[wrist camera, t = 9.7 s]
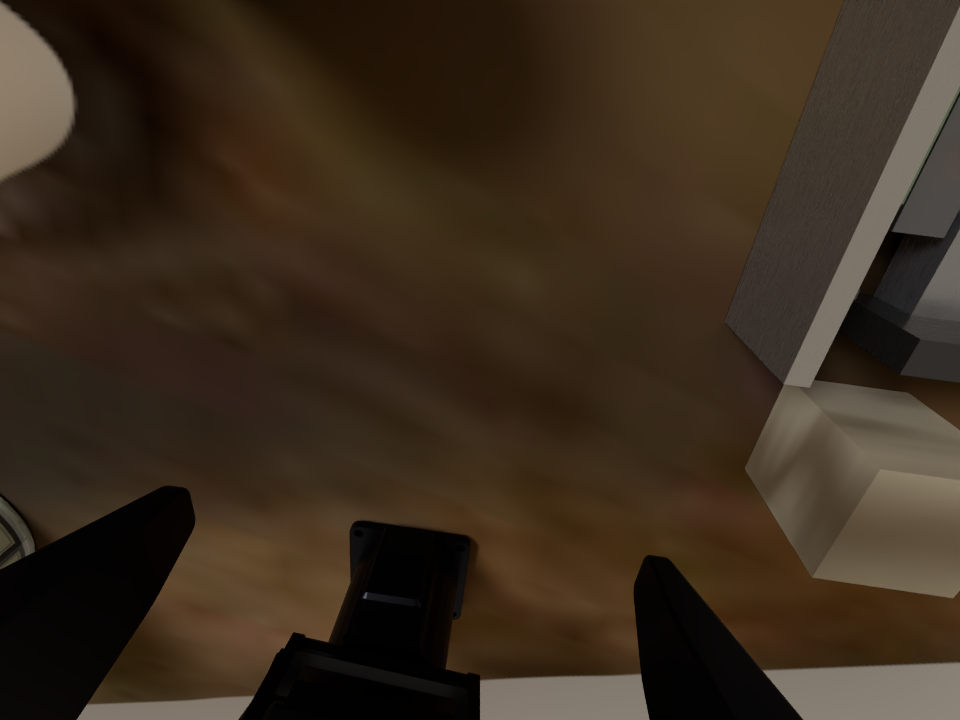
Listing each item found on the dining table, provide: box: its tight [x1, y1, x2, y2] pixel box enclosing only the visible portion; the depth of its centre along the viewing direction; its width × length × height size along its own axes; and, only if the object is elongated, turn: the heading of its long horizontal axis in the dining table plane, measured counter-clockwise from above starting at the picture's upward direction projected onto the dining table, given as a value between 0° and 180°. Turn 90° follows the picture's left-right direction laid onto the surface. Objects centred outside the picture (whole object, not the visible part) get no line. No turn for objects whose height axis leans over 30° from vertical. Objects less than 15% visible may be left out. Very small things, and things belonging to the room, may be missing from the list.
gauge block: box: [745, 380, 960, 598], centre depth 19 cm, size 5×5×6 cm
